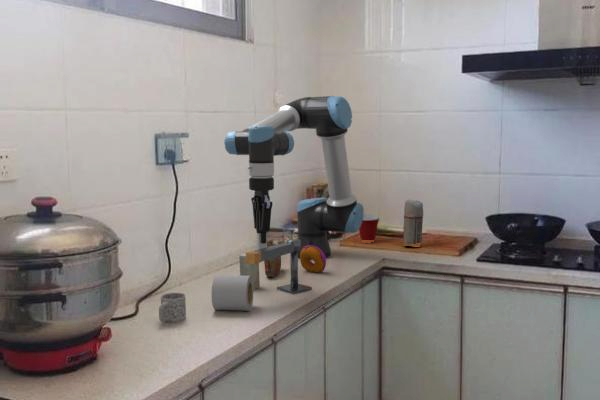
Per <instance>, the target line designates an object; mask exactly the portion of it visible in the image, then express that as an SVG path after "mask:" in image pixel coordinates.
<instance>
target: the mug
mask: <svg viewBox="0 0 600 400" xmlns="http://www.w3.org/2000/svg"><path fill="white" fill-rule="evenodd" d="M158 319H159V322H161V323H166V324H175V323H180V322H184V321H185V320H187V307H186V294H185V293H182V292H168V293H164V294H162V295H161V296H160V305H159V307H158Z"/></svg>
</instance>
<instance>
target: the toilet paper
mask: <svg viewBox="0 0 600 400" xmlns="http://www.w3.org/2000/svg"><path fill="white" fill-rule="evenodd" d="M254 290H255V289H254V288H253V279H252V277H251V276H240V275H236V274H235V275H232V274H231V275H229V274H227V275H226V274H224V275H223V274H216V275H215V276H214V277H213V280H212V284H211V293H210V294H211V305H212V308H213V309H214V310H215V311H219V310H220V311H224V310H225V311H245V312H246V311H247V312H248V311H249V312H250V311H251V310H252V306H253V303H254V293H255V292H254Z"/></svg>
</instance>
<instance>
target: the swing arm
mask: <svg viewBox="0 0 600 400" xmlns="http://www.w3.org/2000/svg"><path fill="white" fill-rule="evenodd" d="M300 250H301V240H299V239H297V238H291V239H287V240H286V241H285V242H281V243H277V244H275V245H270V246H267V247H266V248H263V249H259V250H257V249H256V250H251V251H247V252H245V254H246V263H251V264H257V263H259V264H260V263H263V262H264V261H265V260H269V259H272V258H275V257H279V256H281V257H282V256H285V255H287V254H289V255H290V253H292V252H294V251H300Z"/></svg>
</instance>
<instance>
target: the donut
mask: <svg viewBox="0 0 600 400" xmlns="http://www.w3.org/2000/svg"><path fill="white" fill-rule="evenodd" d="M310 258H311V259H310ZM299 261H300V265H301V268H303V269H304V270H305V271H308V272H311V273H322V272H323V271H324V270H325V268H326V265H327V258H326V256H325V254H324V253H323V251H322V250H321V249H319V248H318V247H316V246H313V245H308V246H304V247H303V248H302V249H301V253H300V258H299ZM312 261H313V262H312Z"/></svg>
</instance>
